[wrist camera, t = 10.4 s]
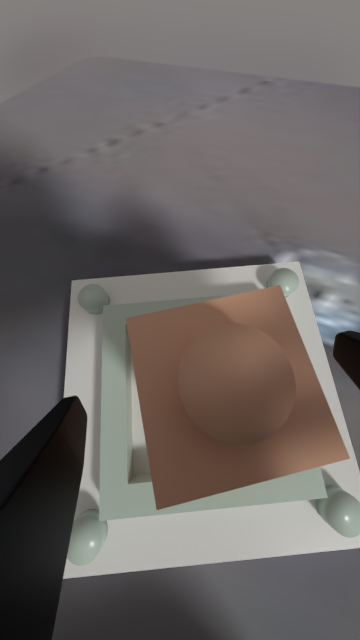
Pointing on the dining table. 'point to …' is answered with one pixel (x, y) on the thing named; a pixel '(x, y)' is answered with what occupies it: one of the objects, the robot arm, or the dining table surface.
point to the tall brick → (228, 396)
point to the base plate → (131, 453)
